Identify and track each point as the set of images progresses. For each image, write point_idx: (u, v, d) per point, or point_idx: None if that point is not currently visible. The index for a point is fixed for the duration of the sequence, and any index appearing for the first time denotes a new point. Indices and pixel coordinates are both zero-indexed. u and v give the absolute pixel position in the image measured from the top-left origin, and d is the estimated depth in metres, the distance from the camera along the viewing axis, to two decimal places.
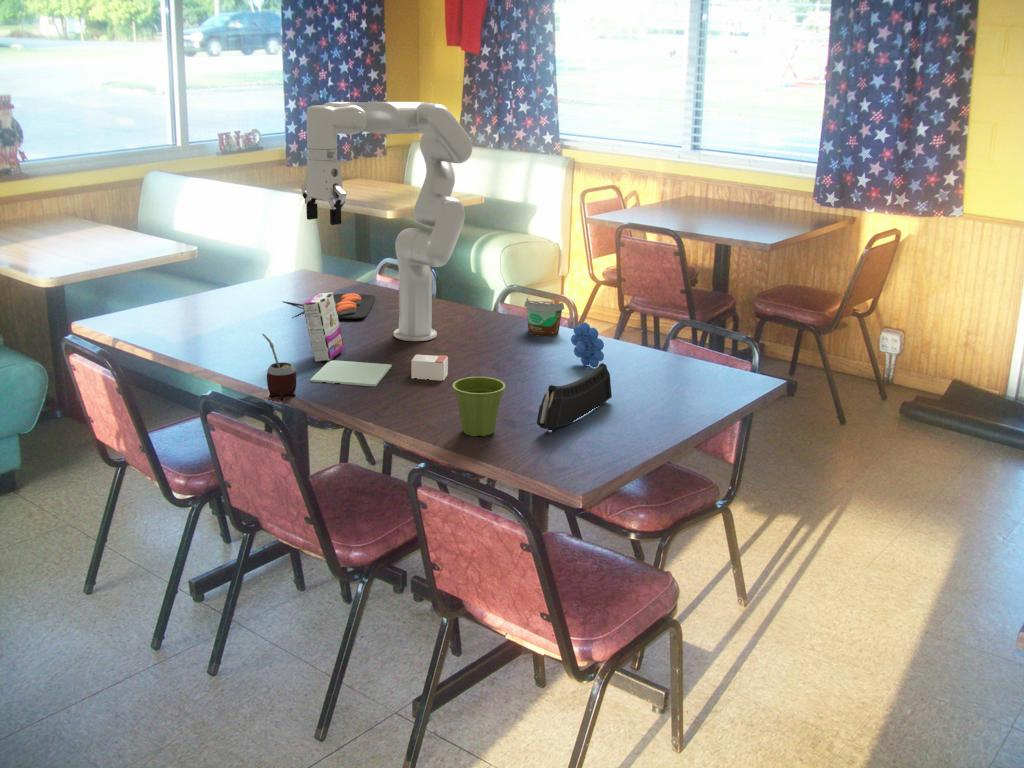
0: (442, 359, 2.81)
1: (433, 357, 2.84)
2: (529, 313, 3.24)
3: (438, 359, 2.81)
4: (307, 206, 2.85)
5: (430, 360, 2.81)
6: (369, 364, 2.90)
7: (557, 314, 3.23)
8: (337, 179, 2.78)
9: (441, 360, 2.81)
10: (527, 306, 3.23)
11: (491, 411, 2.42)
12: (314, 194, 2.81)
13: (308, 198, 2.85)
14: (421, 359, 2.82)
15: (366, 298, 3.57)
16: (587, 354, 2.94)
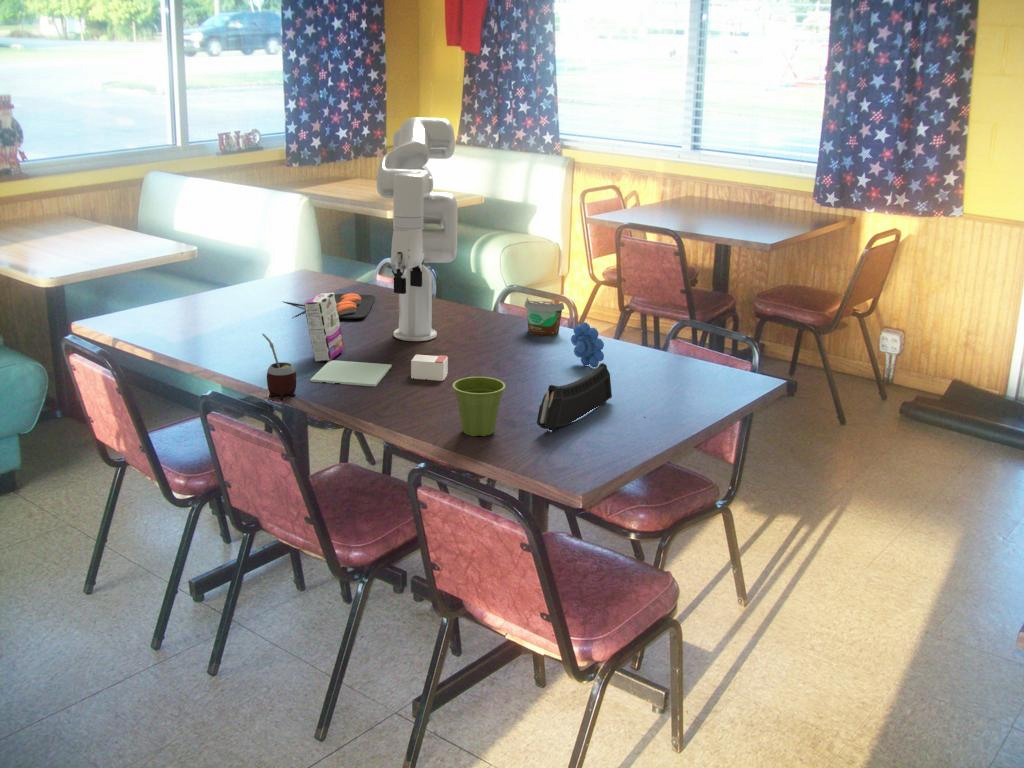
0: (442, 359, 2.81)
1: (432, 357, 2.84)
2: (529, 313, 3.24)
3: (438, 359, 2.81)
4: (405, 280, 2.73)
5: (430, 360, 2.81)
6: (369, 364, 2.90)
7: (557, 314, 3.23)
8: None
9: (441, 360, 2.81)
10: (527, 306, 3.23)
11: (491, 411, 2.42)
12: (414, 263, 2.75)
13: (405, 271, 2.73)
14: (421, 359, 2.82)
15: (366, 298, 3.57)
16: (587, 354, 2.94)
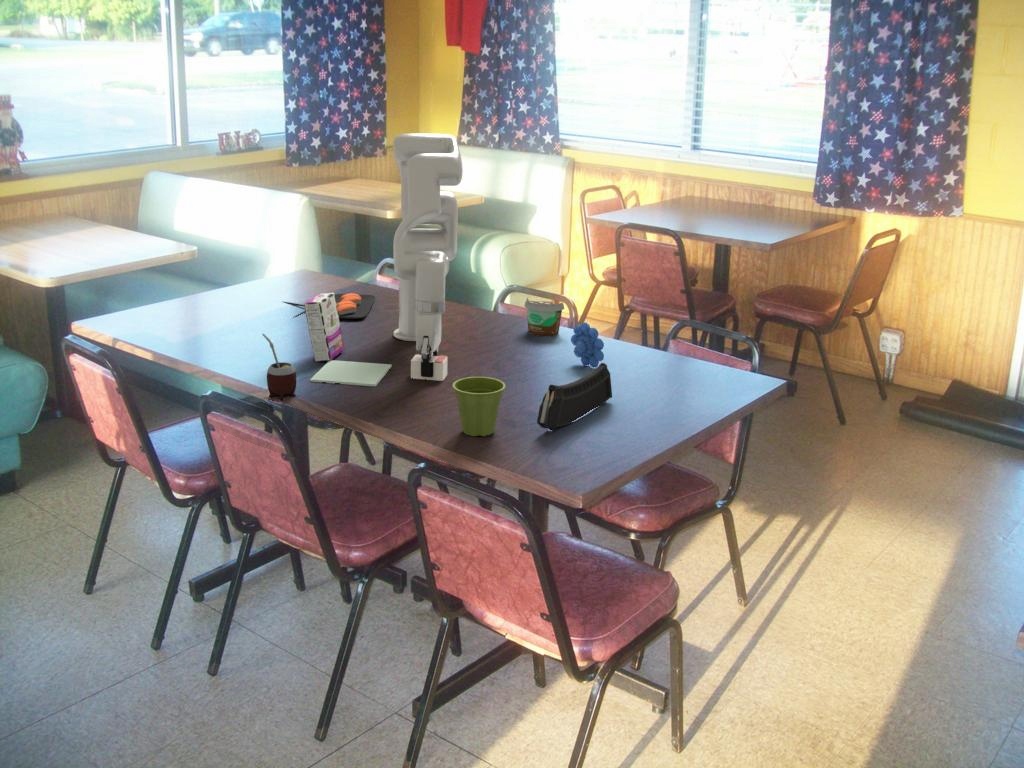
0: (441, 359, 2.81)
1: None
2: (529, 313, 3.24)
3: (437, 359, 2.81)
4: None
5: None
6: (369, 364, 2.90)
7: (557, 314, 3.23)
8: None
9: (440, 360, 2.80)
10: (527, 306, 3.23)
11: (491, 411, 2.42)
12: (437, 344, 2.80)
13: (432, 355, 2.79)
14: None
15: (366, 298, 3.57)
16: (587, 354, 2.94)
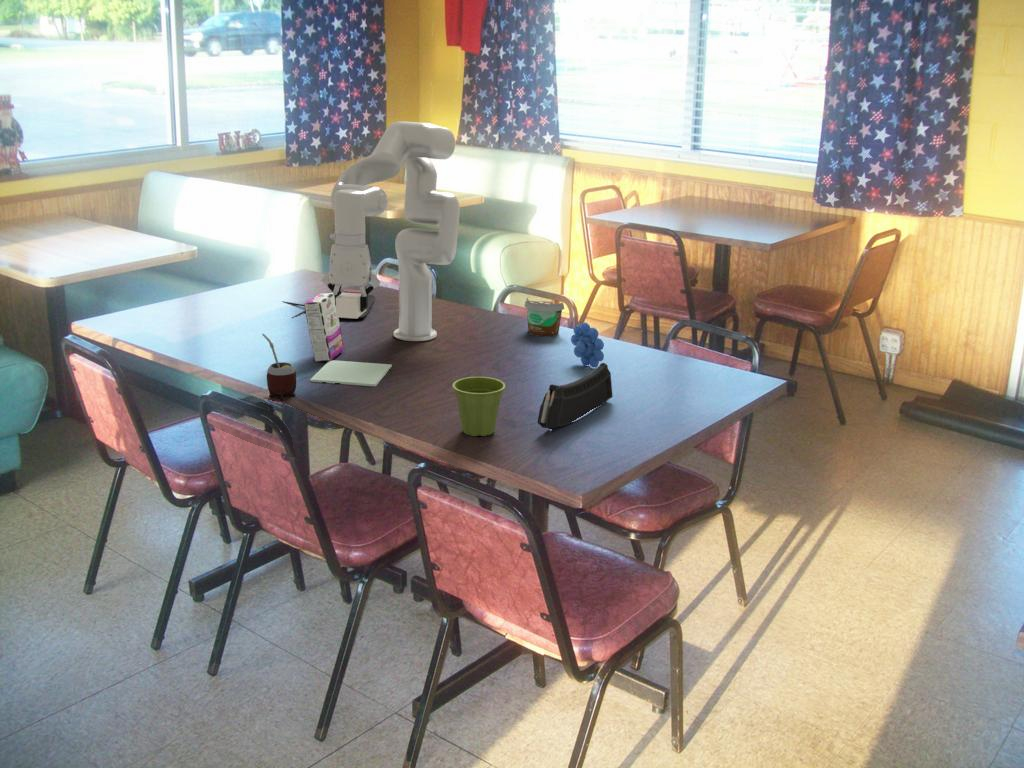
0: (357, 290, 2.80)
1: (347, 293, 2.78)
2: (529, 313, 3.24)
3: (357, 291, 2.79)
4: None
5: (357, 294, 2.77)
6: (369, 364, 2.90)
7: (557, 314, 3.23)
8: None
9: None
10: (527, 306, 3.23)
11: (491, 411, 2.42)
12: None
13: None
14: (354, 296, 2.75)
15: None
16: (587, 354, 2.94)
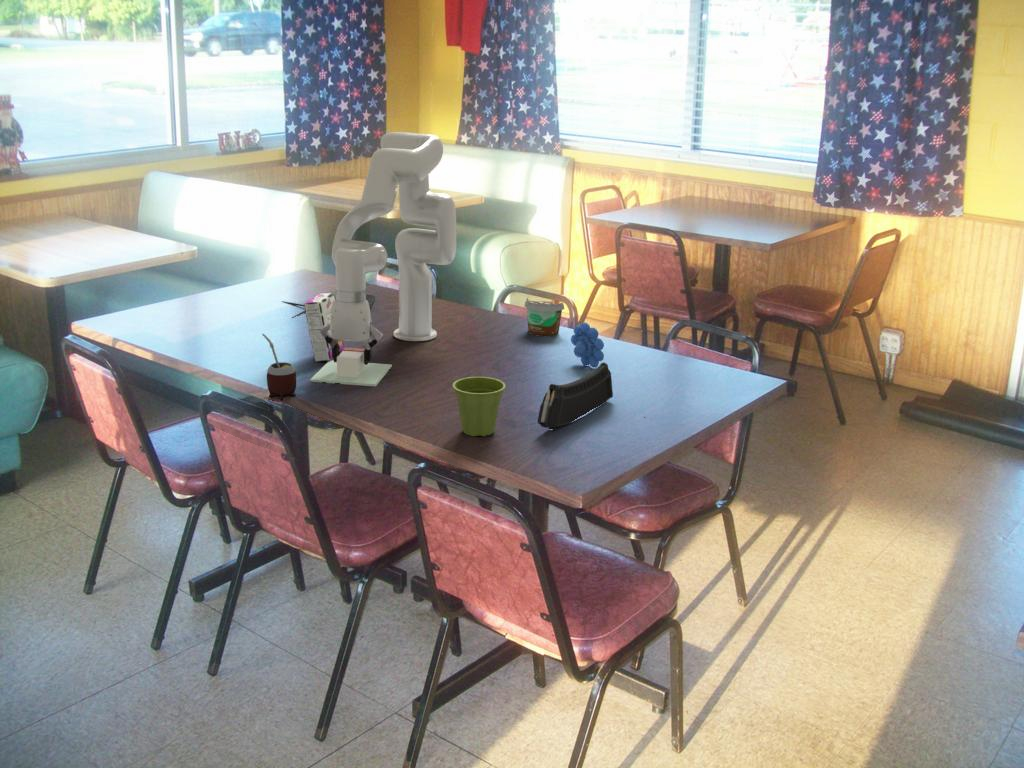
0: (358, 348, 2.85)
1: (347, 352, 2.83)
2: (529, 313, 3.24)
3: (358, 350, 2.84)
4: None
5: (358, 353, 2.82)
6: (369, 364, 2.90)
7: (557, 314, 3.23)
8: None
9: (361, 349, 2.85)
10: (527, 306, 3.23)
11: (491, 411, 2.42)
12: None
13: None
14: (354, 355, 2.80)
15: (366, 298, 3.57)
16: (587, 354, 2.94)
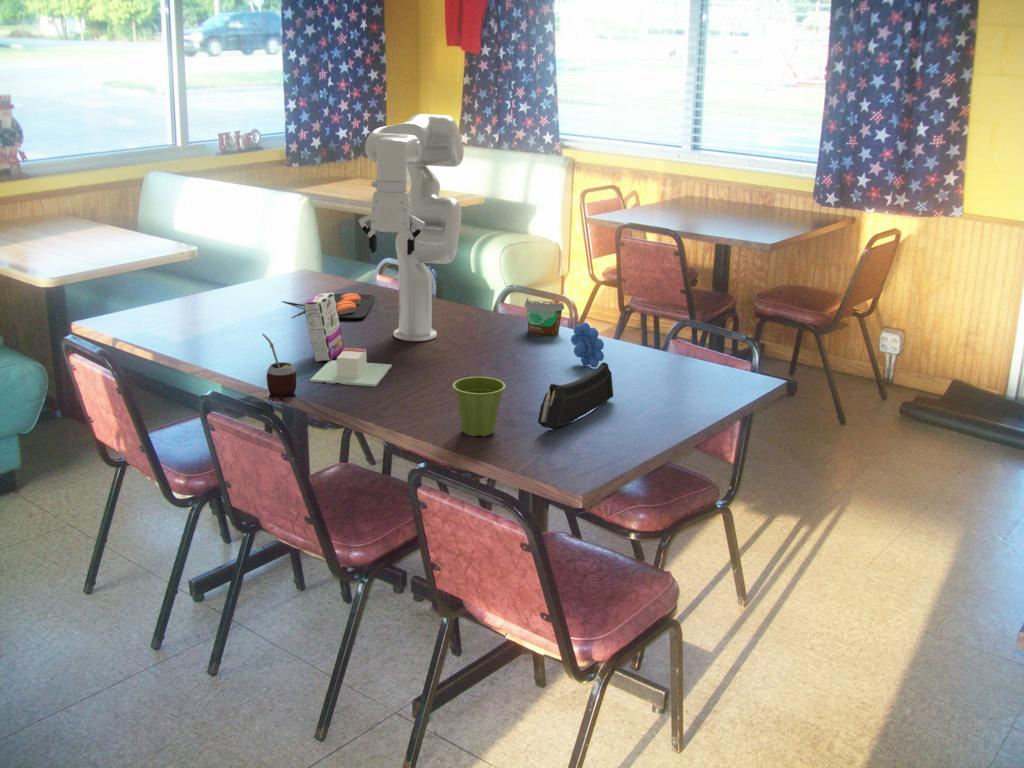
0: (358, 348, 2.85)
1: (347, 352, 2.83)
2: (529, 313, 3.24)
3: (358, 350, 2.84)
4: None
5: (358, 353, 2.82)
6: (369, 364, 2.90)
7: (557, 314, 3.23)
8: None
9: (361, 349, 2.85)
10: (527, 306, 3.23)
11: (491, 411, 2.42)
12: None
13: None
14: (354, 355, 2.80)
15: (366, 298, 3.57)
16: (587, 354, 2.94)
